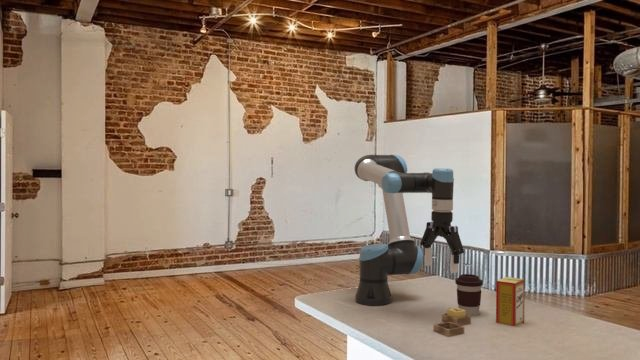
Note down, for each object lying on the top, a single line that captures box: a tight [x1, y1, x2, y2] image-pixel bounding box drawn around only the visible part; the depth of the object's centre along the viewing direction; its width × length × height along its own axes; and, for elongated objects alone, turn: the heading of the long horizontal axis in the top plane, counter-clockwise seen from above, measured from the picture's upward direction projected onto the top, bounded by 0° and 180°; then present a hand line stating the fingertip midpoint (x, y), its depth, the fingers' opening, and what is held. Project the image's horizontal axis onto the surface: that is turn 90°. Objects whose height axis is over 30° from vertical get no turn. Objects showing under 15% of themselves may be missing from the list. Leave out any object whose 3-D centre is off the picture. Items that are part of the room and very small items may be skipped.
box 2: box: [433, 322, 465, 337], centre depth 172 cm, size 7×7×3 cm
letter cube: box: [446, 307, 466, 319], centre depth 183 cm, size 4×4×5 cm
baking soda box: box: [495, 276, 526, 327], centre depth 185 cm, size 10×6×16 cm
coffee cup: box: [454, 273, 484, 317], centre depth 195 cm, size 10×10×15 cm
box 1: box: [441, 313, 472, 326], centre depth 183 cm, size 7×7×3 cm
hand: (440, 268), depth 190 cm, fingers open, 13 cm apart
